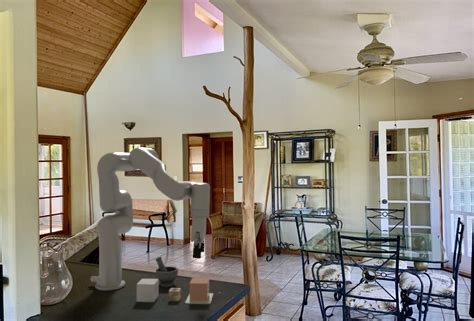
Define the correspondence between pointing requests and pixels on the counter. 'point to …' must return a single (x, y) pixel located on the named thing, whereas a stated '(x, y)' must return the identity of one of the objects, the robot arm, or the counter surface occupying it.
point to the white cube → (147, 290)
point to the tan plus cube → (174, 294)
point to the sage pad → (200, 301)
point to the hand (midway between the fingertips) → (198, 254)
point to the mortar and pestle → (165, 274)
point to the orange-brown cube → (199, 289)
